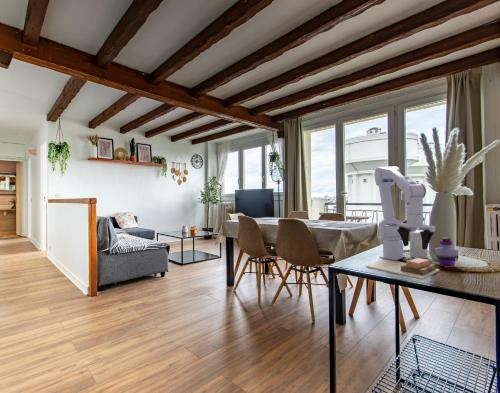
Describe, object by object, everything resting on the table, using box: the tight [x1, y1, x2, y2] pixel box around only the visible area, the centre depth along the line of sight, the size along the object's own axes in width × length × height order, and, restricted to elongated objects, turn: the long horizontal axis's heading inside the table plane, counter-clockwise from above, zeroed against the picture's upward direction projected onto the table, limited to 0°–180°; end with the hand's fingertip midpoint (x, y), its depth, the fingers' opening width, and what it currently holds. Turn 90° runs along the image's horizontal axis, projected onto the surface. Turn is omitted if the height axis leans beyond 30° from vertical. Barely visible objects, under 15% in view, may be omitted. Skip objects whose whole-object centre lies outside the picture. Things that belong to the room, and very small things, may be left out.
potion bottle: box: [434, 236, 459, 267], centre depth 115 cm, size 9×9×12 cm
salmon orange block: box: [406, 258, 431, 269], centre depth 109 cm, size 4×8×4 cm, turn 119°
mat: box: [365, 259, 440, 280], centre depth 114 cm, size 16×22×1 cm
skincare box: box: [409, 230, 428, 259], centre depth 131 cm, size 6×4×12 cm
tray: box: [401, 263, 437, 276], centre depth 109 cm, size 12×8×2 cm, turn 127°
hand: (415, 247), depth 111 cm, fingers open, 7 cm apart
